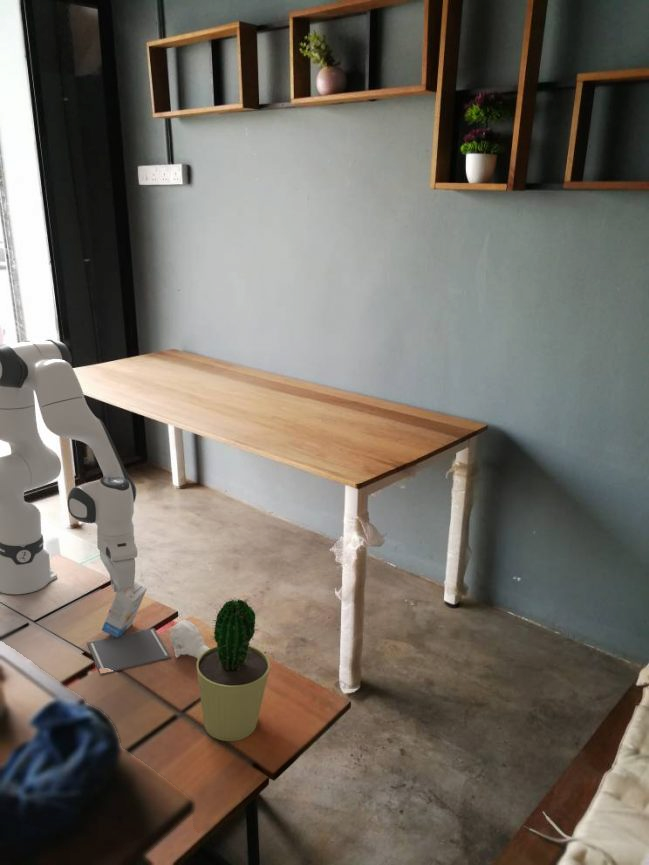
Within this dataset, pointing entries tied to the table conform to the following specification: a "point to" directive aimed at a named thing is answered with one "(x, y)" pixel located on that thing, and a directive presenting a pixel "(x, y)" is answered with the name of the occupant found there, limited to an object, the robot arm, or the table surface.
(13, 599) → the table surface
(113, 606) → the ink box
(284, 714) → the table surface
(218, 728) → the potted cactus
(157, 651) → the mat
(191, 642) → the white irregular lumpy piece
